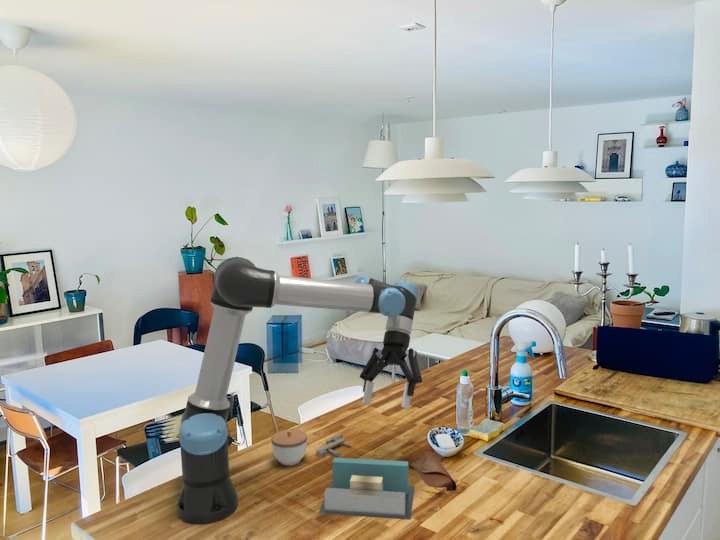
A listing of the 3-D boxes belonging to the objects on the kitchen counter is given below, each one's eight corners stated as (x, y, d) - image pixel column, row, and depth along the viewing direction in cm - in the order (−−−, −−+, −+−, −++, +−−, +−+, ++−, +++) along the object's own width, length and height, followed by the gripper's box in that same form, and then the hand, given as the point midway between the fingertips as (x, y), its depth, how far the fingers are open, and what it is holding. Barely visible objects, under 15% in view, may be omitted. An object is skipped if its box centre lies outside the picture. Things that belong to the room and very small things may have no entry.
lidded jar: (314, 456, 178) (313, 427, 177) (296, 472, 168) (295, 441, 167) (284, 450, 182) (283, 422, 181) (265, 465, 173) (263, 435, 171)
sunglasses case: (406, 464, 171) (416, 444, 171) (425, 472, 173) (436, 453, 173) (427, 495, 154) (439, 473, 154) (448, 504, 156) (460, 482, 156)
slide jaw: (333, 490, 155) (332, 461, 154) (335, 485, 157) (334, 457, 156) (407, 494, 152) (407, 465, 151) (408, 489, 154) (408, 461, 153)
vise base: (318, 517, 144) (317, 494, 144) (331, 485, 160) (330, 464, 159) (410, 524, 141) (410, 500, 140) (414, 490, 156) (414, 468, 156)
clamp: (328, 455, 174) (306, 446, 181) (329, 462, 174) (307, 453, 181) (362, 439, 185) (340, 431, 192) (363, 445, 185) (341, 437, 192)
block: (350, 506, 147) (349, 481, 146) (352, 500, 150) (351, 475, 149) (381, 508, 146) (381, 482, 145) (383, 502, 149) (382, 476, 148)
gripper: (441, 337, 164) (430, 412, 156) (371, 337, 179) (358, 405, 172) (427, 328, 158) (415, 406, 151) (357, 329, 174) (342, 399, 167)
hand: (385, 406), depth 161 cm, fingers open, 13 cm apart
